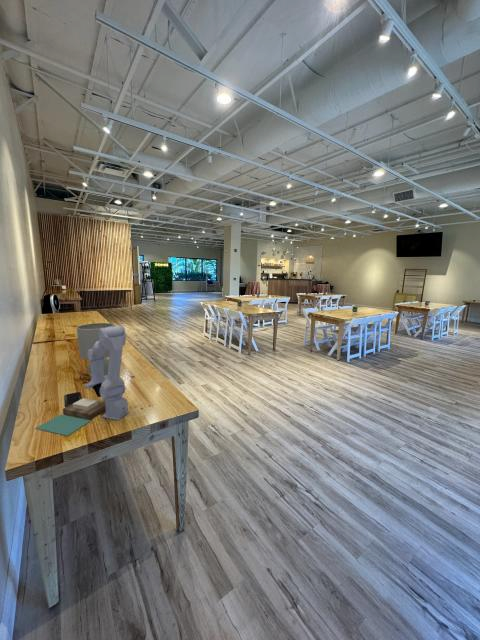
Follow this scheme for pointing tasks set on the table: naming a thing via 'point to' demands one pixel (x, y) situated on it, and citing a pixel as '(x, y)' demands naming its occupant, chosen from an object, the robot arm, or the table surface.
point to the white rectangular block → (85, 404)
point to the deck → (84, 411)
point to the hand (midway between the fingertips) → (99, 396)
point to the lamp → (91, 341)
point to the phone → (72, 398)
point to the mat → (63, 425)
